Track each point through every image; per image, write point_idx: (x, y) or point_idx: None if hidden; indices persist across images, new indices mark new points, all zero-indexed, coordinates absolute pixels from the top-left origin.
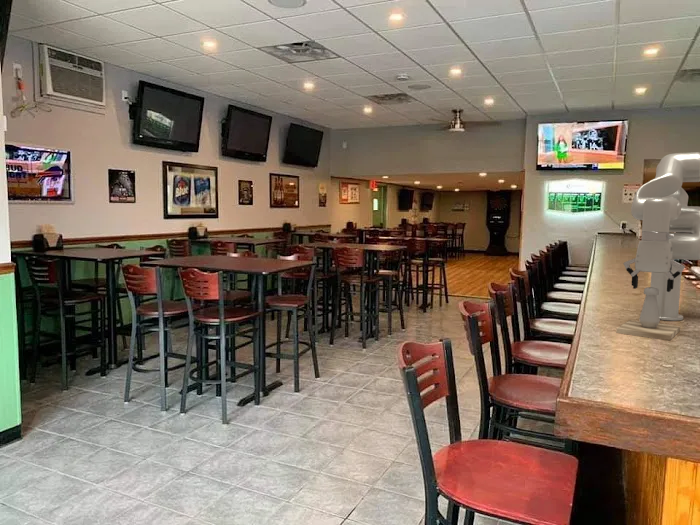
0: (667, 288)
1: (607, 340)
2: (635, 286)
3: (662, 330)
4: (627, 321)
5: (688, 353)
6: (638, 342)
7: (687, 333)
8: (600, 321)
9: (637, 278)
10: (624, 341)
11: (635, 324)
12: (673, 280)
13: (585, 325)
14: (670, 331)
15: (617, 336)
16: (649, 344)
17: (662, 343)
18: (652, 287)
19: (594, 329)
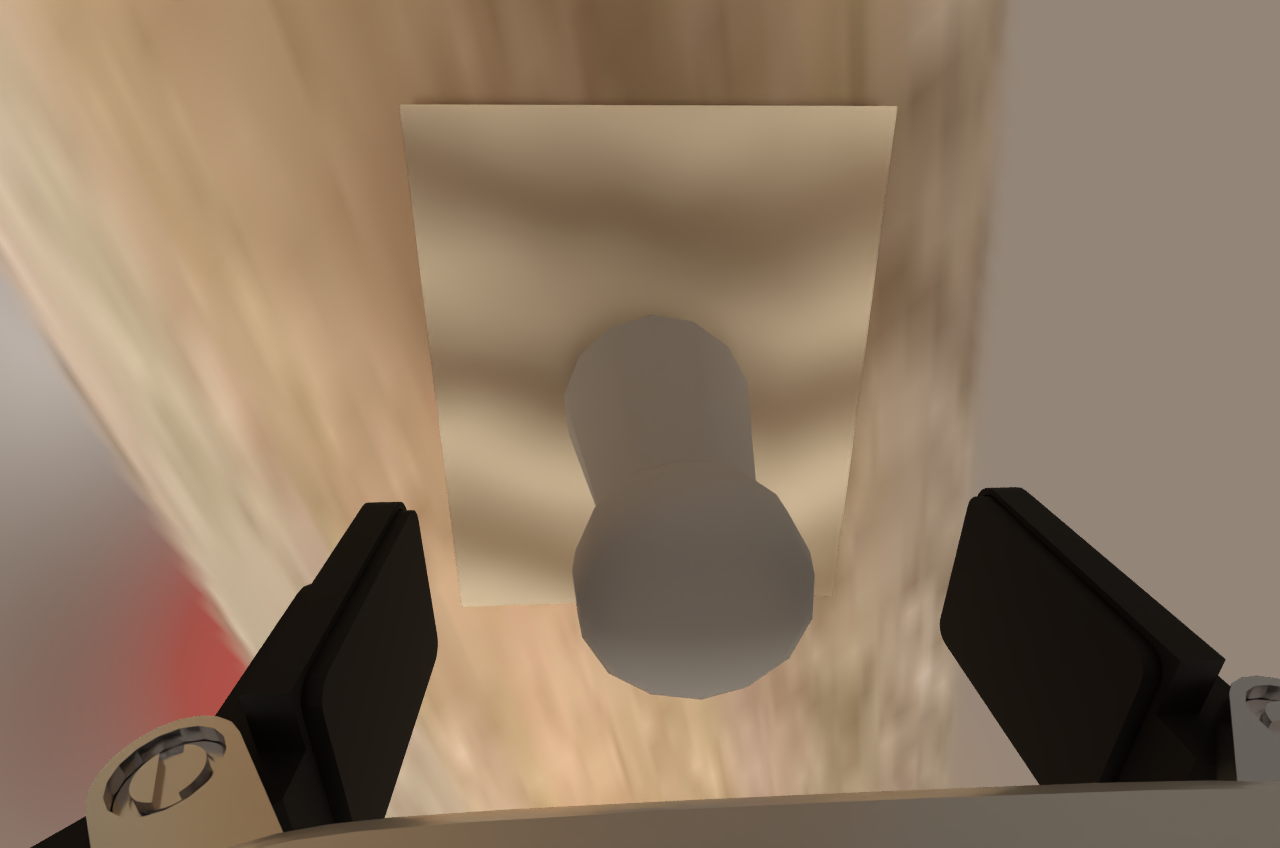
0: (975, 671)
1: (509, 806)
2: (425, 676)
3: (767, 450)
4: (416, 232)
5: None
6: (664, 742)
7: (938, 195)
8: (140, 178)
9: (357, 710)
10: (592, 769)
11: (526, 342)
12: (1211, 706)
13: (171, 484)
14: (826, 446)
15: (516, 680)
16: (725, 747)
17: (786, 679)
18: (710, 589)
19: (304, 580)
